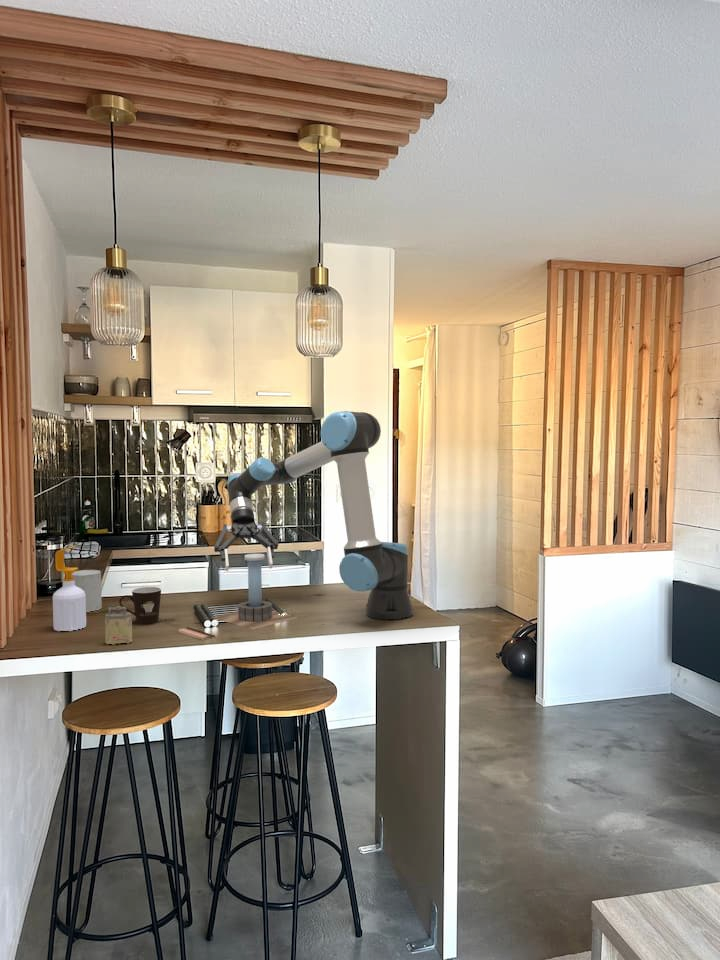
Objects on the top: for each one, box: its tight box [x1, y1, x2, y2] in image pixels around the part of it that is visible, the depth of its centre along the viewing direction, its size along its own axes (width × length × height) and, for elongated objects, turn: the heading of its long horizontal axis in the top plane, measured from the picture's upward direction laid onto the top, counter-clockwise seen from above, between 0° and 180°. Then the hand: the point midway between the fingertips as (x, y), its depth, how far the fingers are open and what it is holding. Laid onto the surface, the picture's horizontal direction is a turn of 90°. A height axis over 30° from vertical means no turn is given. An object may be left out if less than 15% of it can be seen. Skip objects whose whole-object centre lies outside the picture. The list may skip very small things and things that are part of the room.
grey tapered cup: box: [72, 569, 103, 613], centre depth 231 cm, size 10×10×12 cm
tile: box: [178, 626, 216, 641], centre depth 205 cm, size 12×12×1 cm
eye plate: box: [211, 600, 300, 630], centre depth 215 cm, size 20×18×6 cm
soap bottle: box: [52, 545, 87, 632], centre depth 208 cm, size 9×9×25 cm
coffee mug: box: [118, 586, 162, 626], centre depth 215 cm, size 12×9×10 cm
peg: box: [244, 553, 266, 607], centre depth 214 cm, size 6×6×19 cm
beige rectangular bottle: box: [104, 605, 133, 645], centre depth 194 cm, size 7×4×10 cm, turn 101°
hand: (249, 567), depth 220 cm, fingers open, 13 cm apart
